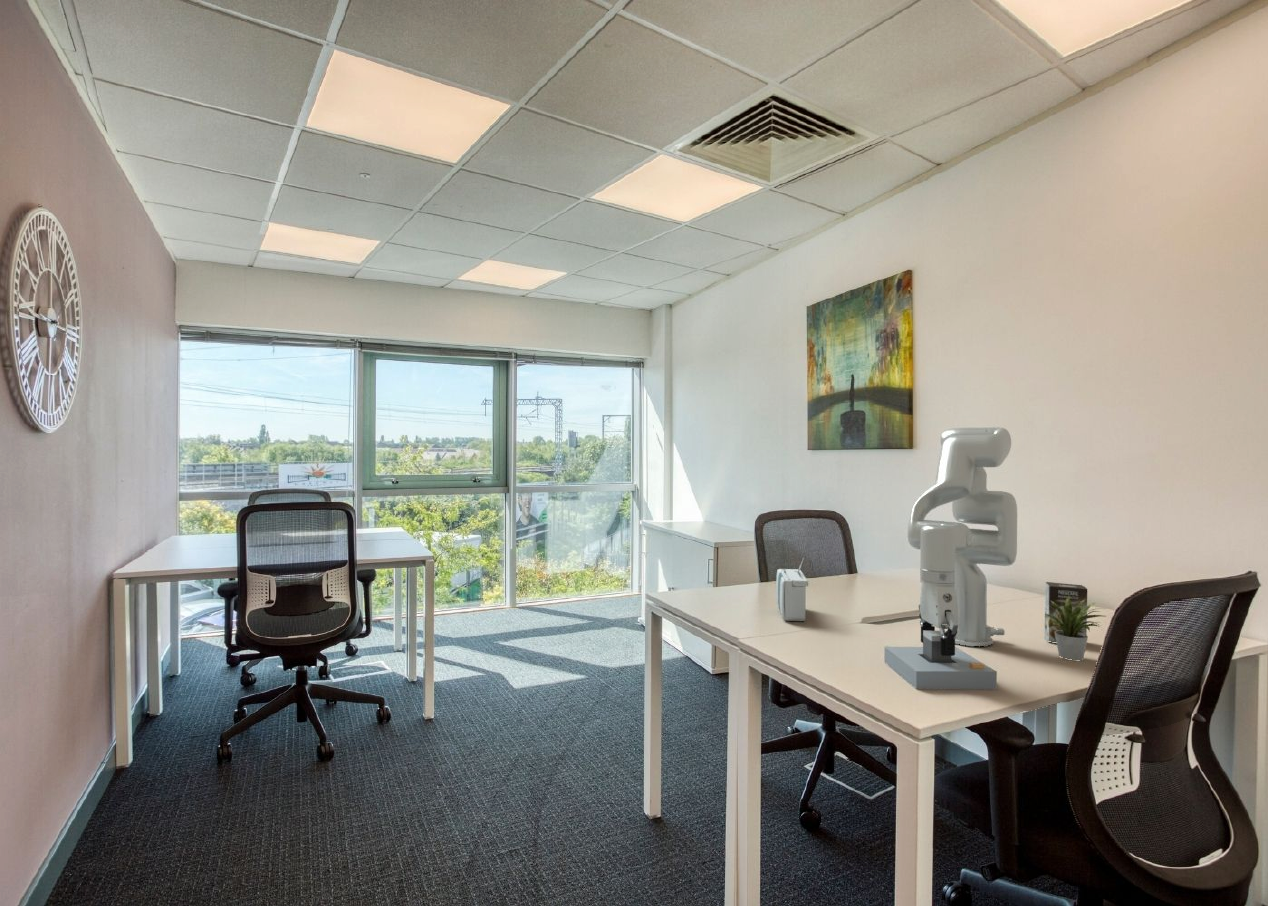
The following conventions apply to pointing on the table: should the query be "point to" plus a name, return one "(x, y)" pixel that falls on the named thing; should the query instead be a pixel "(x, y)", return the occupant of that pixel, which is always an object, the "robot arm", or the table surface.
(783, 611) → the stereo radio cassette player
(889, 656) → the socket
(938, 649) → the plug
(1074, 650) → the house plant
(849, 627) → the table surface
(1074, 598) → the coffee box
